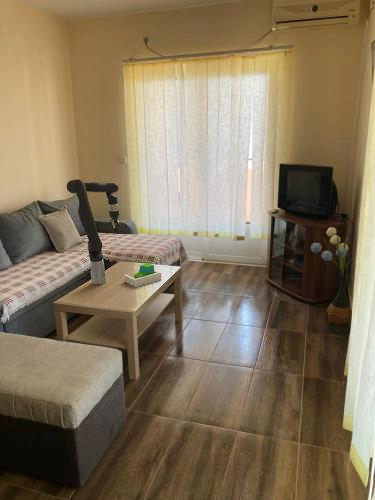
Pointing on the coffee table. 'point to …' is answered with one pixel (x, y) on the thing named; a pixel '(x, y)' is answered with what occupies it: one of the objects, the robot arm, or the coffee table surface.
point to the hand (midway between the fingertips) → (116, 232)
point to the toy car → (144, 270)
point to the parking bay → (143, 279)
